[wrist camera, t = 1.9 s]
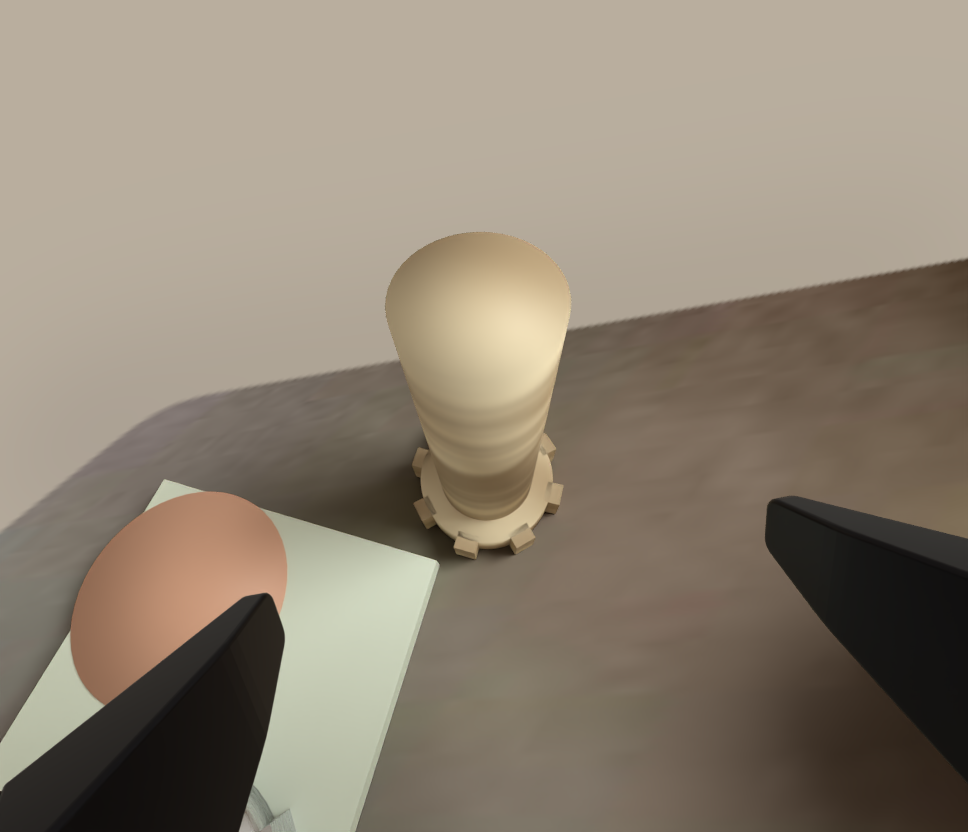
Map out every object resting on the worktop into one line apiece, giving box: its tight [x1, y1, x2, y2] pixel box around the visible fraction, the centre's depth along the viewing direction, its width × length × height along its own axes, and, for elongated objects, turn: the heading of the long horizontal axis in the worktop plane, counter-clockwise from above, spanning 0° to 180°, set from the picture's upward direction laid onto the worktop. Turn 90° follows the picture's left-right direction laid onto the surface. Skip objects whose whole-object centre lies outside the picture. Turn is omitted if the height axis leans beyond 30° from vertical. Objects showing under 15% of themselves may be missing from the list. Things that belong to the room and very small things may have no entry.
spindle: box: [385, 232, 571, 560], centre depth 16 cm, size 7×7×13 cm
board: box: [0, 479, 440, 832], centre depth 17 cm, size 17×14×1 cm
